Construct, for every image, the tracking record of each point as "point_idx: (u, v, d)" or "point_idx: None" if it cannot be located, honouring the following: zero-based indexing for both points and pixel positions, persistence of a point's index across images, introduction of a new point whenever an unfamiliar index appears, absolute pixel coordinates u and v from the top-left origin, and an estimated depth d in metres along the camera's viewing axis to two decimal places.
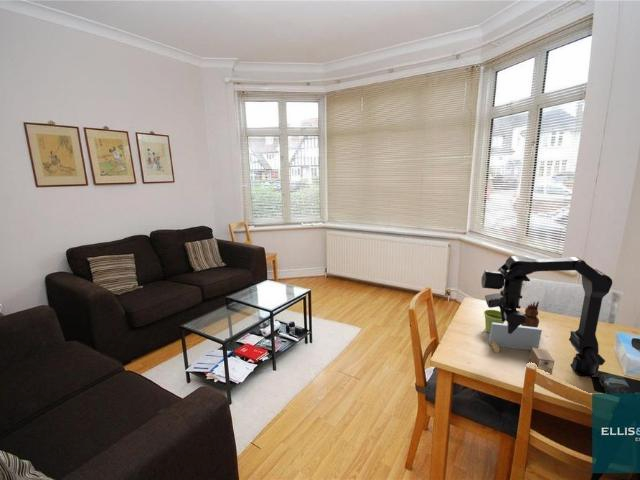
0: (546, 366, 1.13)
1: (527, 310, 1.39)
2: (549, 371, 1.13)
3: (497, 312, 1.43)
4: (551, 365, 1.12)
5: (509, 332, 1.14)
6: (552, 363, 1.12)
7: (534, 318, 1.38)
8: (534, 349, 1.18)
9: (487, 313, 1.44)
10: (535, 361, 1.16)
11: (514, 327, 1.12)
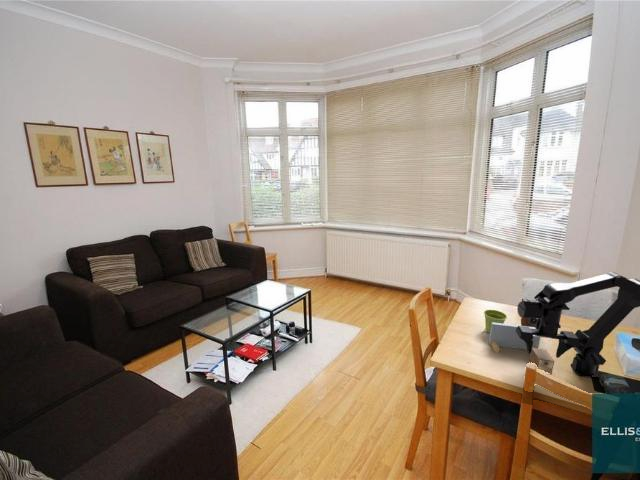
0: (546, 366, 1.13)
1: None
2: (549, 371, 1.13)
3: (497, 312, 1.43)
4: (551, 365, 1.12)
5: (528, 352, 1.17)
6: (552, 363, 1.12)
7: None
8: (534, 349, 1.18)
9: (487, 313, 1.44)
10: (535, 361, 1.16)
11: (527, 346, 1.16)
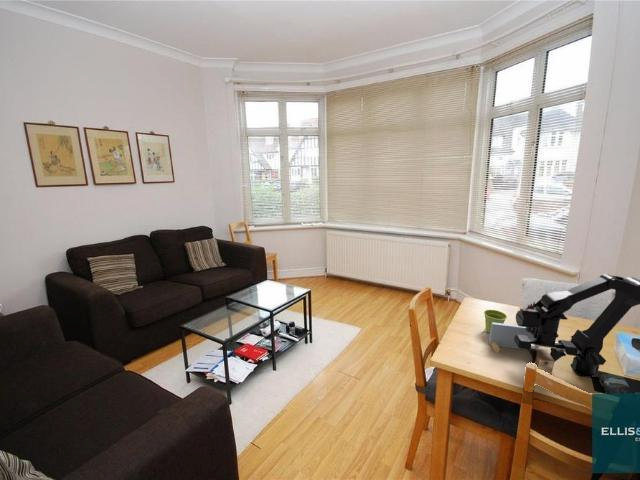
0: (546, 366, 1.13)
1: None
2: (549, 371, 1.13)
3: (497, 312, 1.43)
4: (551, 365, 1.12)
5: (532, 361, 1.17)
6: (552, 363, 1.12)
7: None
8: None
9: (487, 313, 1.44)
10: (535, 361, 1.16)
11: (531, 356, 1.16)
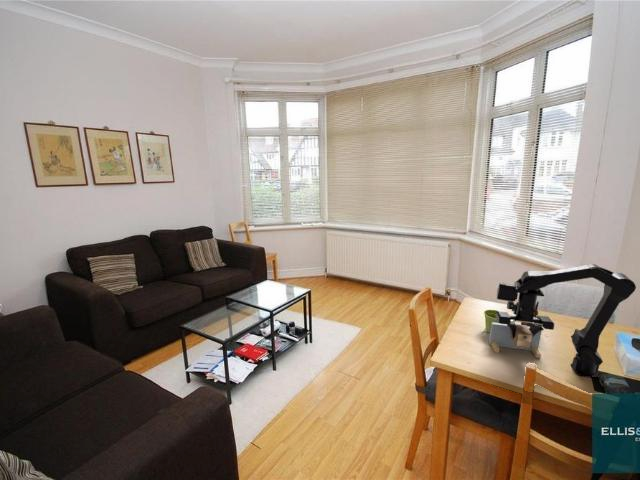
0: (525, 340, 1.18)
1: None
2: (528, 345, 1.18)
3: None
4: (530, 339, 1.18)
5: (512, 337, 1.23)
6: (531, 337, 1.17)
7: None
8: None
9: (487, 313, 1.44)
10: (515, 336, 1.21)
11: (511, 331, 1.22)
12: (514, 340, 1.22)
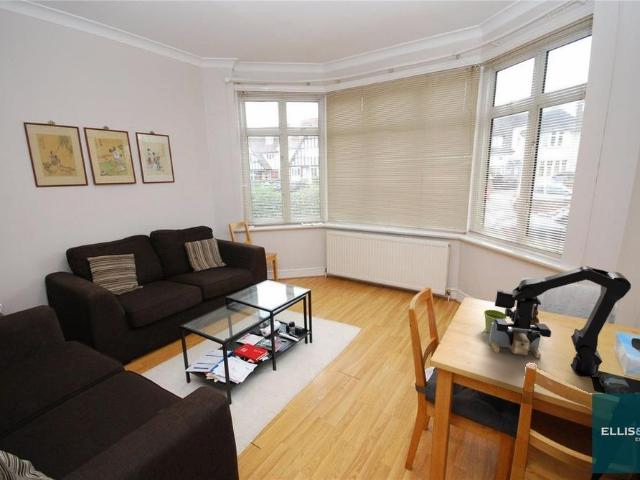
0: (523, 347, 1.20)
1: None
2: (525, 352, 1.20)
3: (497, 312, 1.43)
4: (527, 346, 1.20)
5: (510, 343, 1.25)
6: (528, 344, 1.19)
7: (534, 318, 1.38)
8: None
9: (487, 313, 1.44)
10: (513, 343, 1.23)
11: (509, 338, 1.24)
12: (512, 347, 1.24)
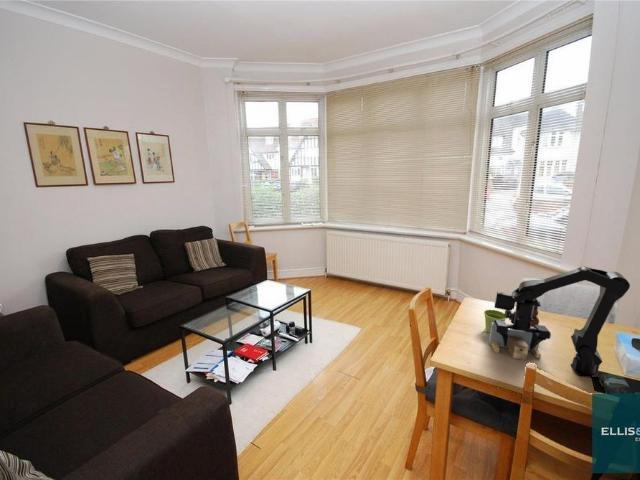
0: (522, 352, 1.21)
1: None
2: (524, 357, 1.21)
3: (497, 312, 1.43)
4: (526, 351, 1.20)
5: (504, 344, 1.26)
6: (527, 349, 1.20)
7: (534, 318, 1.38)
8: (511, 337, 1.26)
9: (487, 313, 1.44)
10: (511, 348, 1.24)
11: (503, 339, 1.24)
12: (511, 352, 1.24)
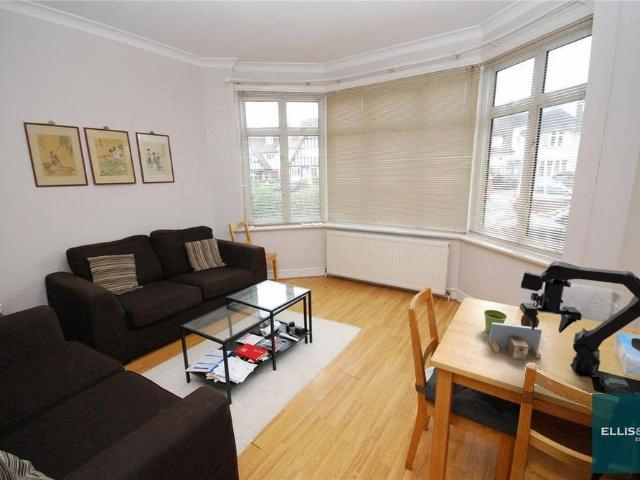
0: (522, 352, 1.21)
1: None
2: (524, 357, 1.21)
3: (497, 312, 1.43)
4: (526, 351, 1.20)
5: None
6: (527, 349, 1.20)
7: None
8: (511, 337, 1.26)
9: (487, 313, 1.44)
10: (511, 348, 1.24)
11: (531, 322, 1.20)
12: (511, 352, 1.24)
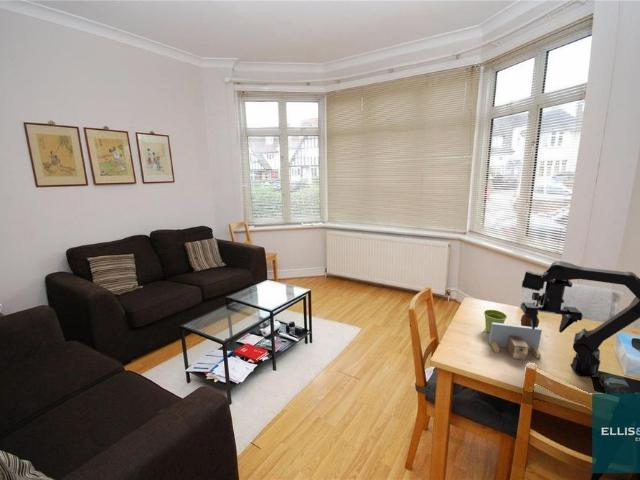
0: (522, 352, 1.21)
1: None
2: (524, 357, 1.21)
3: (497, 312, 1.43)
4: (526, 351, 1.20)
5: (532, 327, 1.21)
6: (527, 349, 1.20)
7: None
8: (511, 337, 1.26)
9: (487, 313, 1.44)
10: (511, 348, 1.24)
11: (532, 322, 1.20)
12: (511, 352, 1.24)
